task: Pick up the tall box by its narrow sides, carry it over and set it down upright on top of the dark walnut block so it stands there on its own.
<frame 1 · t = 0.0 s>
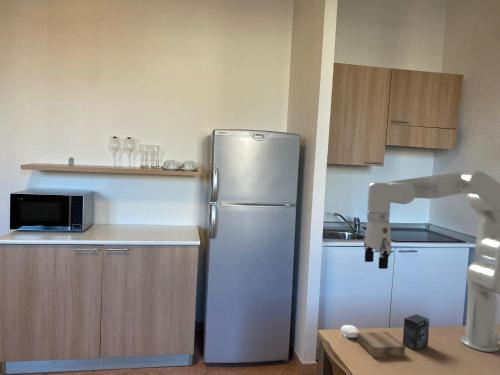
hand: (375, 265, 135), 31 cm above the table, tool pointing down, fingers open, 9 cm apart
box: (415, 346, 142), on the table
garlic: (350, 336, 149), on the table
walnut block: (379, 350, 138), on the table
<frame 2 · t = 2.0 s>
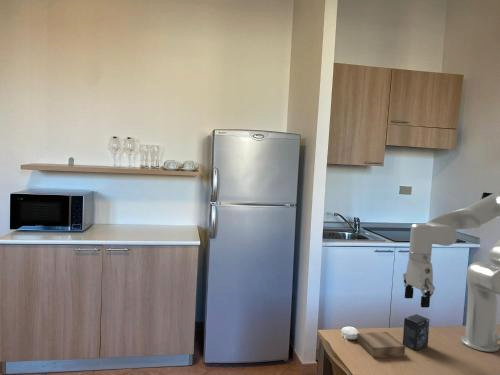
hand: (416, 302, 141), 16 cm above the table, tool pointing down, fingers open, 9 cm apart
garlic: (350, 338, 147), on the table
everything else where it was.
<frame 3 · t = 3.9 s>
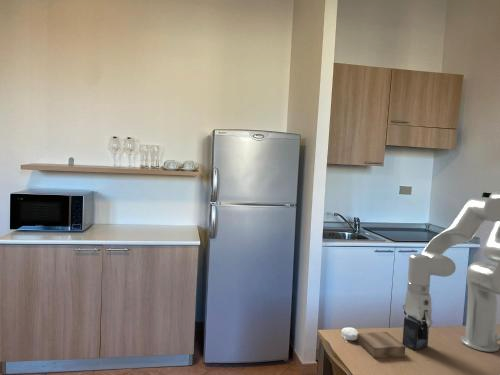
hand: (415, 334, 142), 4 cm above the table, tool pointing down, fingers closed on box, 7 cm apart
box: (415, 346, 142), on the table, touching gripper
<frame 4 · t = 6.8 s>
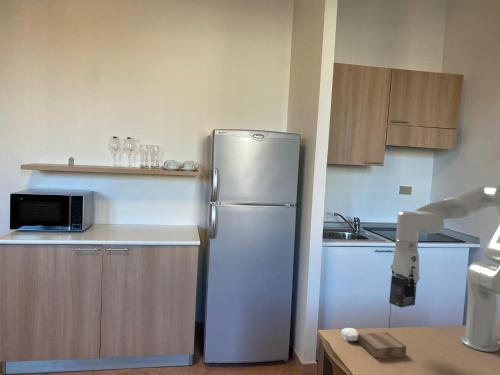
hand: (402, 292, 139), 20 cm above the table, tool pointing down, fingers closed on box, 7 cm apart
box: (402, 304, 140), point 16 cm above the table, touching gripper
when the fingers open (10 cm above the table, at t = 9.8 s): box drops 2 cm, resting on walnut block.
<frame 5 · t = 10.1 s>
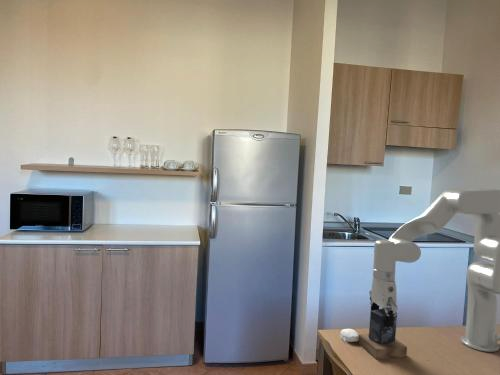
hand: (381, 321, 138), 10 cm above the table, tool pointing down, fingers open, 9 cm apart
box: (381, 340, 138), point 3 cm above the table, touching walnut block
walnut block: (381, 351, 137), on the table, touching box
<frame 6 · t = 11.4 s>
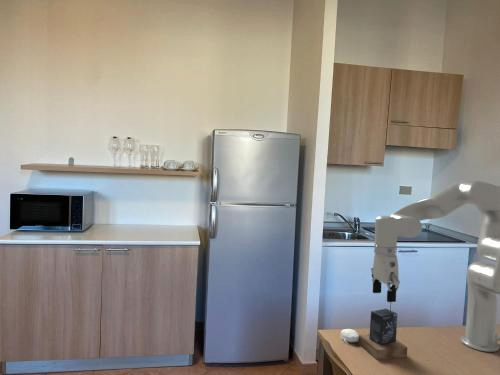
hand: (383, 297, 137), 19 cm above the table, tool pointing down, fingers open, 9 cm apart
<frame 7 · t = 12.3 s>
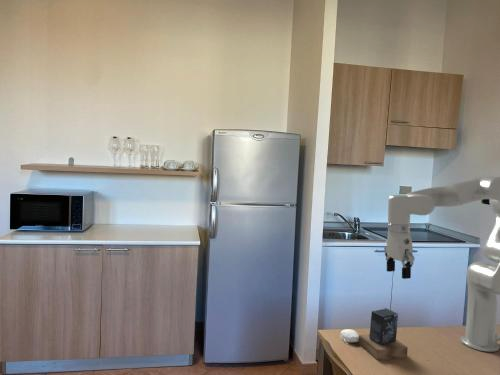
hand: (398, 274, 140), 27 cm above the table, tool pointing down, fingers open, 9 cm apart
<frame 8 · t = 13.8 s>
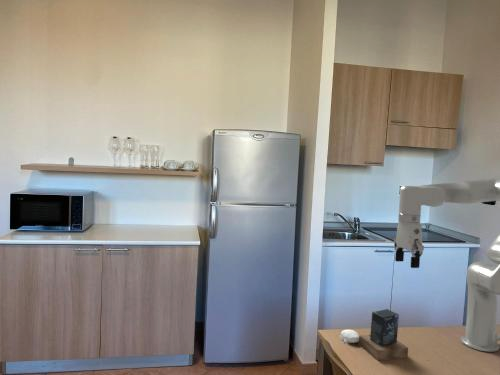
hand: (406, 264, 142), 30 cm above the table, tool pointing down, fingers open, 9 cm apart
garlic: (350, 341, 144), on the table, touching walnut block
walnut block: (382, 352, 137), on the table, touching box, garlic
at the end: box 0.2 cm off-centre on the walnut block, point 3.9 cm above the walnut block's base; box tilted 2°; the gripper is holding nothing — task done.
